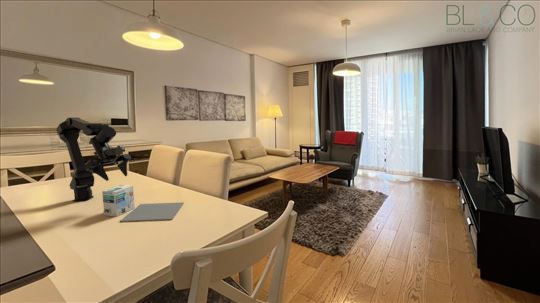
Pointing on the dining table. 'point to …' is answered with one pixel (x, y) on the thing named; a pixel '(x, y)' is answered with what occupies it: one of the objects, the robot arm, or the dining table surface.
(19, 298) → the dining table surface
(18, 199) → the dining table surface
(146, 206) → the charcoal mat
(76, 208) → the dining table surface
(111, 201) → the light bulb box
